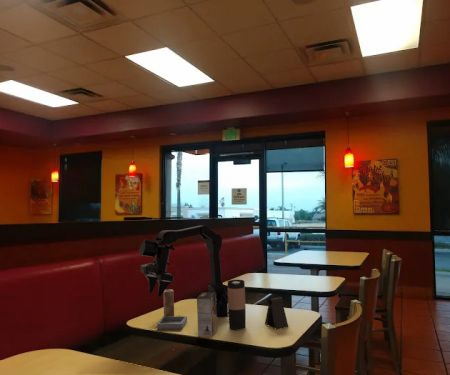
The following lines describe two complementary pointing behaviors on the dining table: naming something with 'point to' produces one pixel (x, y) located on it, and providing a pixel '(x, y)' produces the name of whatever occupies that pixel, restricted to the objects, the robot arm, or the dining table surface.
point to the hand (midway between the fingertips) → (154, 294)
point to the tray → (172, 323)
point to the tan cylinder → (168, 302)
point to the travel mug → (236, 304)
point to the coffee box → (207, 314)
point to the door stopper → (276, 313)
